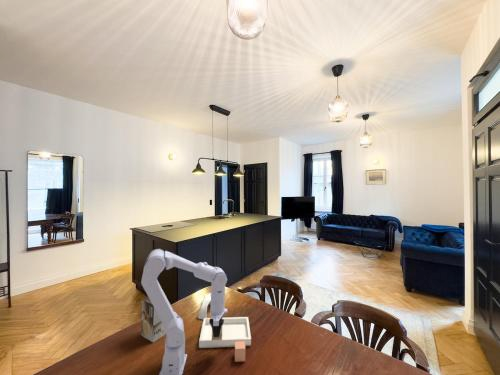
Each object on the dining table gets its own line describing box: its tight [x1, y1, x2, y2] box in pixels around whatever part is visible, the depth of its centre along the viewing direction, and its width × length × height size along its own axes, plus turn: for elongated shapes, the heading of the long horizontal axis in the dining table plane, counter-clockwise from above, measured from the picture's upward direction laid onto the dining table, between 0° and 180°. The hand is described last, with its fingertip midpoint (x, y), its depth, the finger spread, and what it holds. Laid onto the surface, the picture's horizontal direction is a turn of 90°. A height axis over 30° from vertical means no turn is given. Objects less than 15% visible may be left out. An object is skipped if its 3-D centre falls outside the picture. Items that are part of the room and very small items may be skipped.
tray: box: [198, 316, 252, 349], centre depth 99 cm, size 16×22×3 cm
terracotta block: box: [234, 341, 246, 363], centre depth 86 cm, size 4×4×5 cm
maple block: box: [212, 325, 223, 340], centre depth 88 cm, size 4×4×5 cm
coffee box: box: [140, 296, 165, 343], centre depth 97 cm, size 9×6×16 cm
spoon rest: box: [197, 292, 211, 320], centre depth 121 cm, size 24×12×7 cm, turn 169°
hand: (216, 332), depth 88 cm, fingers closed on maple block, 4 cm apart
